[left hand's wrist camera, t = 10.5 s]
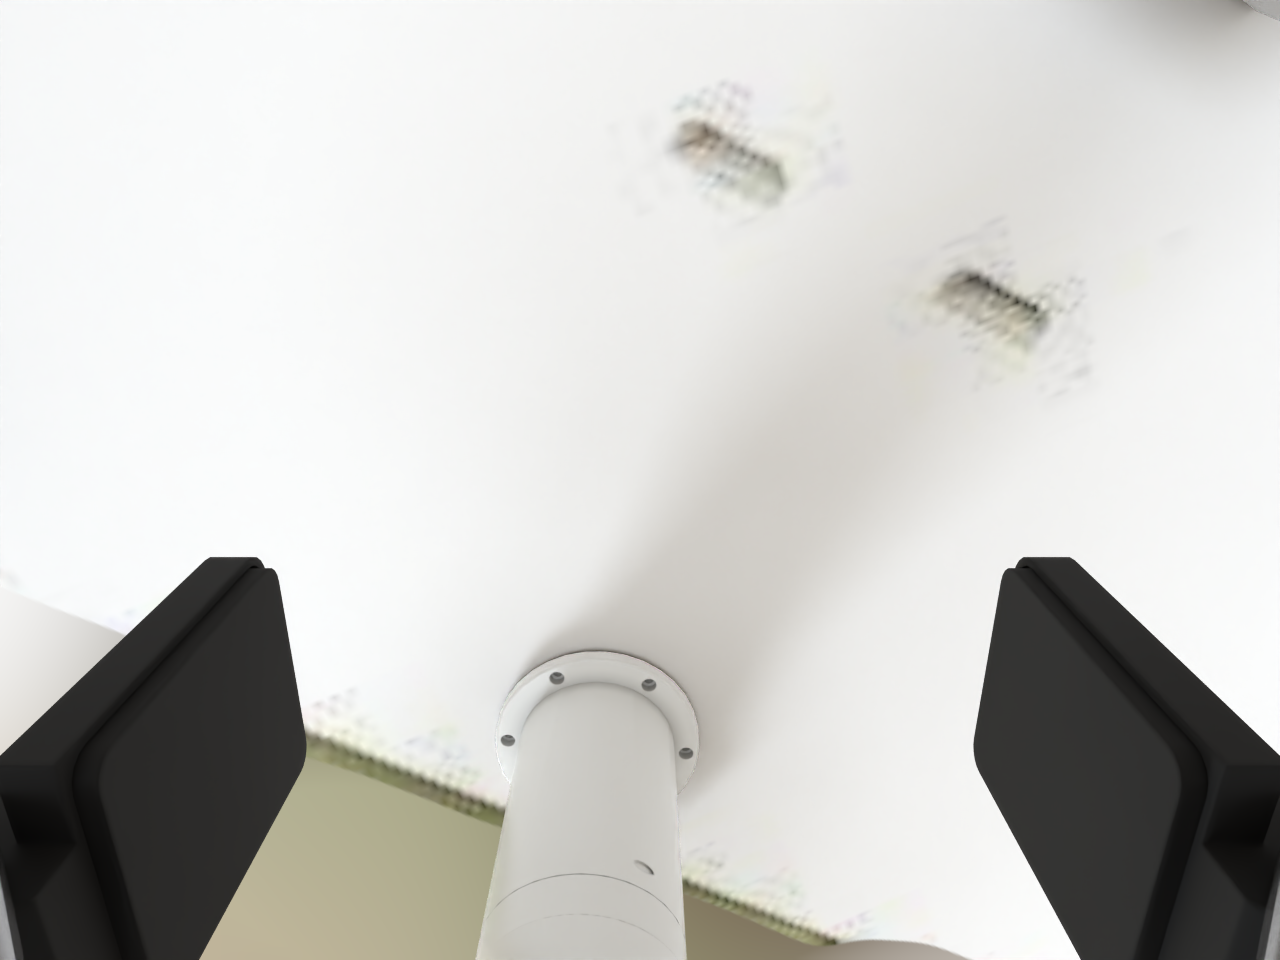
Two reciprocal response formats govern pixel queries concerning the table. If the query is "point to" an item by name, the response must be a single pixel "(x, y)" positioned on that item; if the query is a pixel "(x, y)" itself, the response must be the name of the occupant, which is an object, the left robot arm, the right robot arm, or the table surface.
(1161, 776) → the left robot arm
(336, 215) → the table surface
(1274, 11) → the grey pyramid cube
